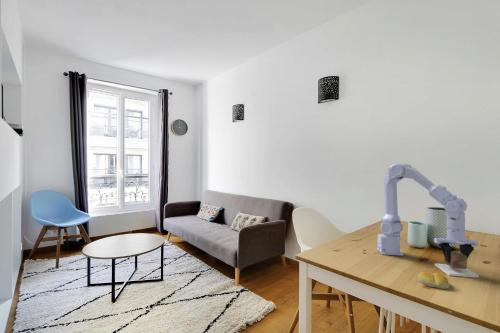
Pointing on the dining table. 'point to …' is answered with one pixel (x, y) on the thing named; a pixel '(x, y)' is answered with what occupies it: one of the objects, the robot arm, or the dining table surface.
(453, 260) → the walnut block
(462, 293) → the dining table surface
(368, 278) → the dining table surface
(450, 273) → the grey tile
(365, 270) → the dining table surface
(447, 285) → the bread roll
